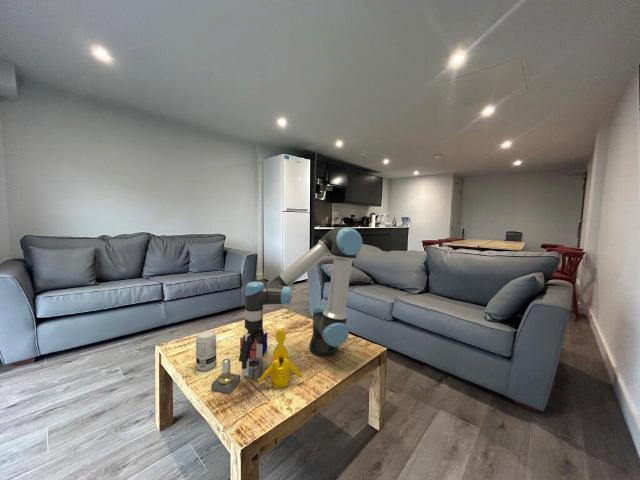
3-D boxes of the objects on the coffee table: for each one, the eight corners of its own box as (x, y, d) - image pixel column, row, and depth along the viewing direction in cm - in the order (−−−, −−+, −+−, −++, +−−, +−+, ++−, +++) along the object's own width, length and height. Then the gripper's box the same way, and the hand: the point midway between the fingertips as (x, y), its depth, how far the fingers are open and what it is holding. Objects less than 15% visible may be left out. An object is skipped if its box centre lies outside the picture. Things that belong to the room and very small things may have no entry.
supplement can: (196, 363, 117) (196, 331, 116) (216, 359, 120) (216, 329, 119) (195, 373, 109) (195, 339, 108) (216, 369, 113) (216, 336, 111)
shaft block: (240, 380, 105) (240, 356, 104) (230, 393, 97) (229, 367, 96) (222, 378, 106) (222, 354, 106) (211, 390, 99) (211, 364, 98)
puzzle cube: (258, 360, 120) (259, 340, 120) (239, 357, 122) (239, 338, 122) (267, 350, 130) (267, 331, 129) (249, 347, 132) (249, 329, 131)
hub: (265, 369, 113) (265, 359, 113) (258, 380, 106) (258, 369, 105) (249, 366, 115) (249, 357, 115) (240, 377, 107) (240, 367, 107)
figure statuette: (258, 392, 98) (258, 338, 96) (258, 380, 106) (258, 329, 104) (303, 386, 102) (304, 334, 101) (300, 375, 110) (301, 326, 108)
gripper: (258, 307, 121) (257, 350, 123) (230, 329, 97) (229, 381, 98) (273, 309, 120) (271, 352, 121) (248, 331, 95) (246, 385, 97)
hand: (252, 365), depth 110 cm, fingers open, 13 cm apart
